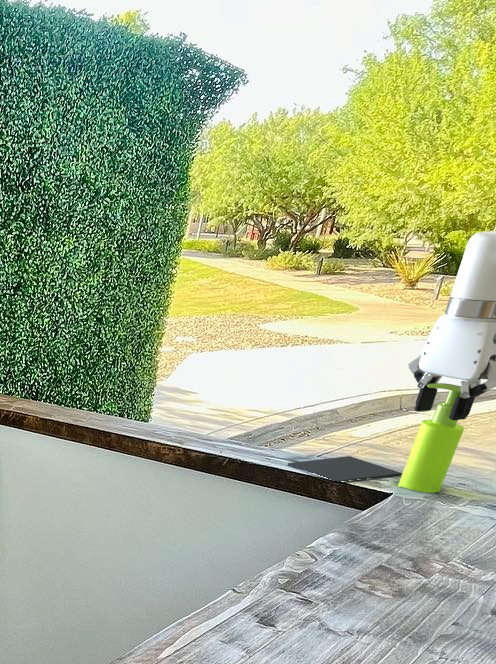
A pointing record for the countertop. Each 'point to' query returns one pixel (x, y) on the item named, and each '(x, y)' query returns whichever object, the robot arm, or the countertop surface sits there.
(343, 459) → the mat
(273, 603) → the countertop surface
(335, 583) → the countertop surface
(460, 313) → the robot arm
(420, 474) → the soap dispenser
